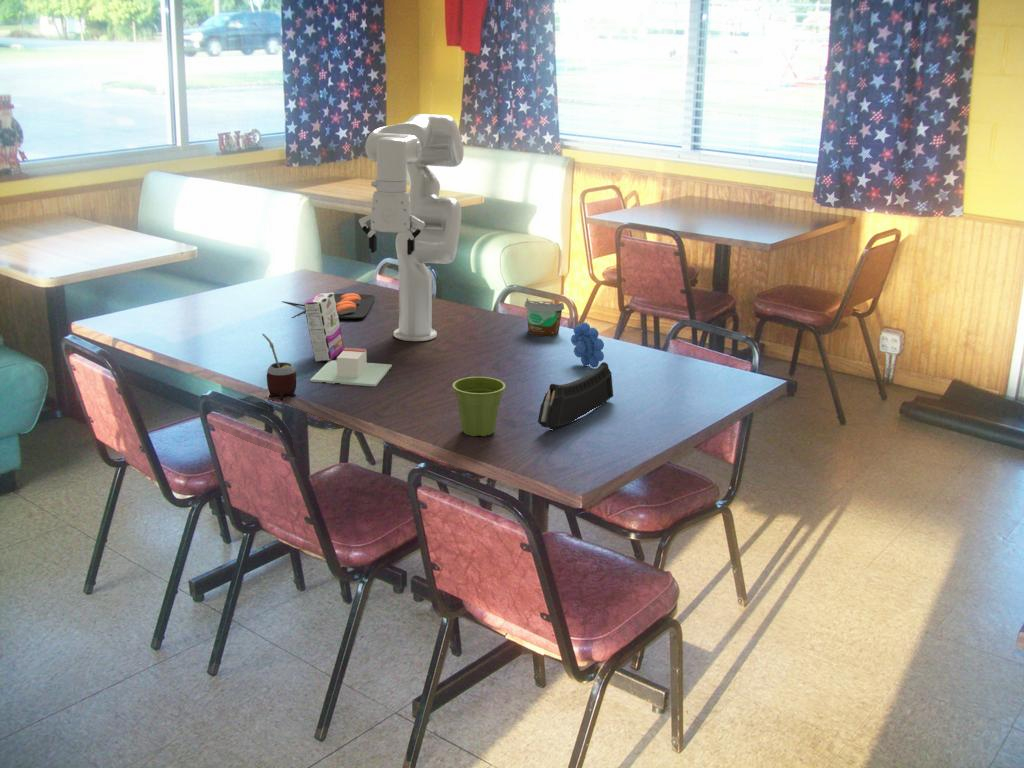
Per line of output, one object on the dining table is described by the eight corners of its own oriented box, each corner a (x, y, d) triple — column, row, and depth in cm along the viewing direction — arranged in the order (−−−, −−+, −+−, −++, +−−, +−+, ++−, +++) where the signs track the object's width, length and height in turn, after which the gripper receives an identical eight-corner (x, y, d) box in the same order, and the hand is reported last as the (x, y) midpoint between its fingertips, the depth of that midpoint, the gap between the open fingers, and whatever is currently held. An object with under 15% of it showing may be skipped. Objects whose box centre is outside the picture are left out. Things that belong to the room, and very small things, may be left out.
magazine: (608, 362, 271) (549, 354, 245) (620, 364, 269) (562, 357, 243) (595, 429, 272) (535, 429, 246) (606, 432, 270) (547, 432, 245)
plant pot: (461, 419, 254) (462, 374, 251) (510, 426, 251) (512, 380, 247) (444, 437, 243) (444, 389, 240) (494, 444, 240) (496, 396, 237)
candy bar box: (327, 350, 303) (318, 293, 298) (344, 349, 302) (335, 291, 297) (313, 362, 292) (302, 302, 288) (330, 361, 291) (320, 301, 287)
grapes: (559, 363, 298) (561, 321, 294) (576, 359, 303) (578, 317, 299) (591, 374, 290) (594, 330, 286) (608, 369, 295) (611, 326, 291)
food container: (517, 334, 325) (518, 301, 322) (524, 329, 330) (526, 297, 327) (556, 339, 321) (557, 306, 318) (563, 334, 326) (564, 302, 323)
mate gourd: (296, 401, 263) (294, 341, 258) (263, 401, 261) (260, 341, 257) (297, 391, 270) (295, 332, 265) (264, 391, 268) (262, 333, 264)
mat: (330, 362, 293) (330, 360, 293) (391, 366, 291) (391, 364, 291) (310, 381, 277) (310, 379, 277) (375, 386, 275) (375, 384, 275)
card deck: (336, 376, 280) (336, 356, 278) (346, 366, 288) (345, 347, 286) (358, 377, 279) (357, 358, 278) (366, 367, 287) (366, 348, 286)
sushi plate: (364, 323, 333) (364, 311, 332) (266, 320, 333) (265, 308, 332) (376, 300, 360) (376, 289, 359) (286, 297, 360) (285, 285, 359)
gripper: (354, 187, 276) (355, 253, 281) (421, 190, 274) (421, 257, 279) (362, 183, 283) (363, 248, 288) (427, 186, 281) (427, 252, 286)
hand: (391, 252), depth 284 cm, fingers open, 9 cm apart
